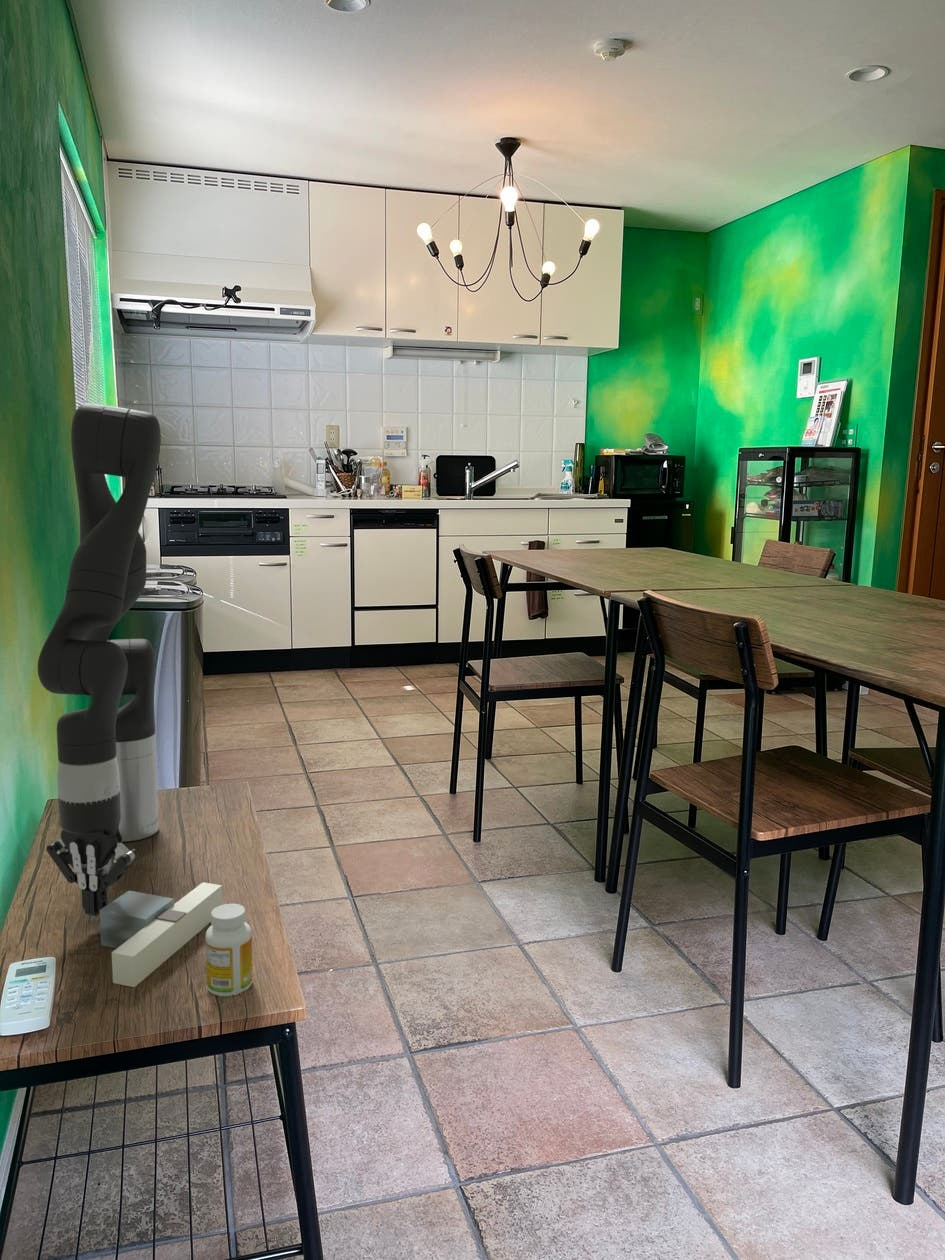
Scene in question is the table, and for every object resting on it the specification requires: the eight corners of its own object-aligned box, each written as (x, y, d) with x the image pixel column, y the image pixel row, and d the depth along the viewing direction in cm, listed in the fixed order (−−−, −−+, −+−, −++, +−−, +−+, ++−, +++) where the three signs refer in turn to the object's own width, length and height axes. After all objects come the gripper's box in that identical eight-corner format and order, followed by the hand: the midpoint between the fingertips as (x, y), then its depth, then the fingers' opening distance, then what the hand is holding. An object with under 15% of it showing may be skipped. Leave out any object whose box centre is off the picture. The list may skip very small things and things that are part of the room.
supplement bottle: (244, 968, 115) (242, 896, 113) (258, 989, 110) (257, 915, 109) (201, 980, 112) (199, 906, 110) (214, 1002, 107) (212, 926, 106)
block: (101, 945, 120) (99, 910, 119) (130, 924, 125) (129, 890, 124) (147, 955, 118) (145, 919, 117) (174, 933, 123) (173, 898, 122)
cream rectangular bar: (112, 982, 111) (111, 950, 110) (203, 908, 130) (202, 880, 129) (134, 987, 110) (133, 955, 109) (222, 911, 129) (222, 884, 128)
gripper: (150, 786, 122) (154, 907, 125) (65, 775, 125) (71, 893, 128) (115, 806, 115) (120, 933, 118) (25, 793, 118) (33, 918, 121)
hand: (95, 912), depth 123 cm, fingers closed
